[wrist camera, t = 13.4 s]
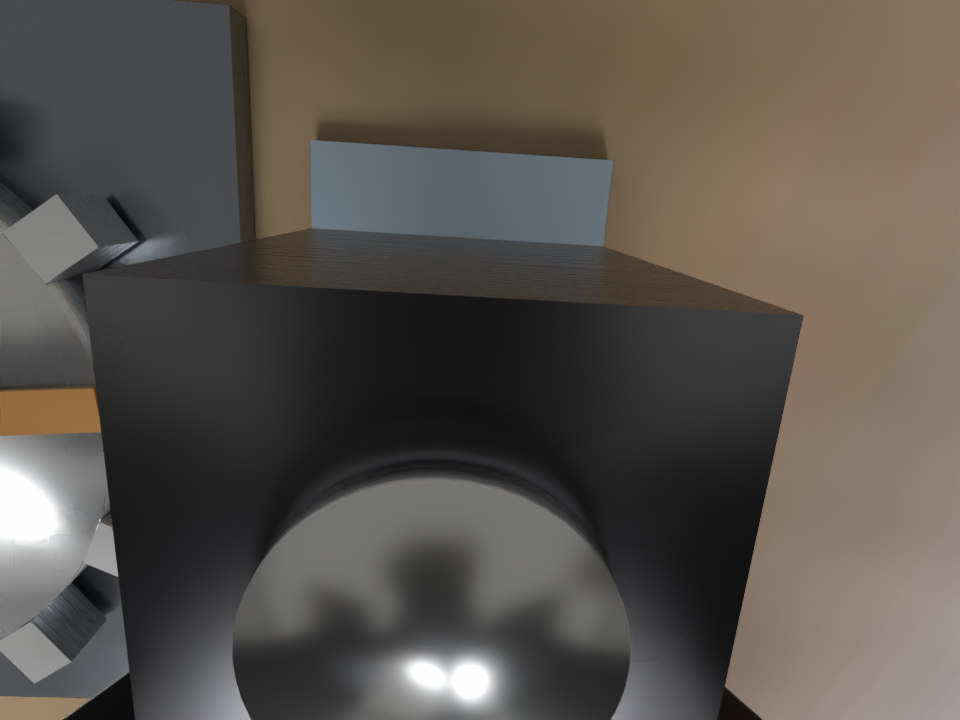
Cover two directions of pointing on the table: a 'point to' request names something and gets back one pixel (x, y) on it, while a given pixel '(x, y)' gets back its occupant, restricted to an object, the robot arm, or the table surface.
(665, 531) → the chain link
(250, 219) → the base plate
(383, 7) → the table surface
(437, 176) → the seat pad
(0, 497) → the sprocket wheel
